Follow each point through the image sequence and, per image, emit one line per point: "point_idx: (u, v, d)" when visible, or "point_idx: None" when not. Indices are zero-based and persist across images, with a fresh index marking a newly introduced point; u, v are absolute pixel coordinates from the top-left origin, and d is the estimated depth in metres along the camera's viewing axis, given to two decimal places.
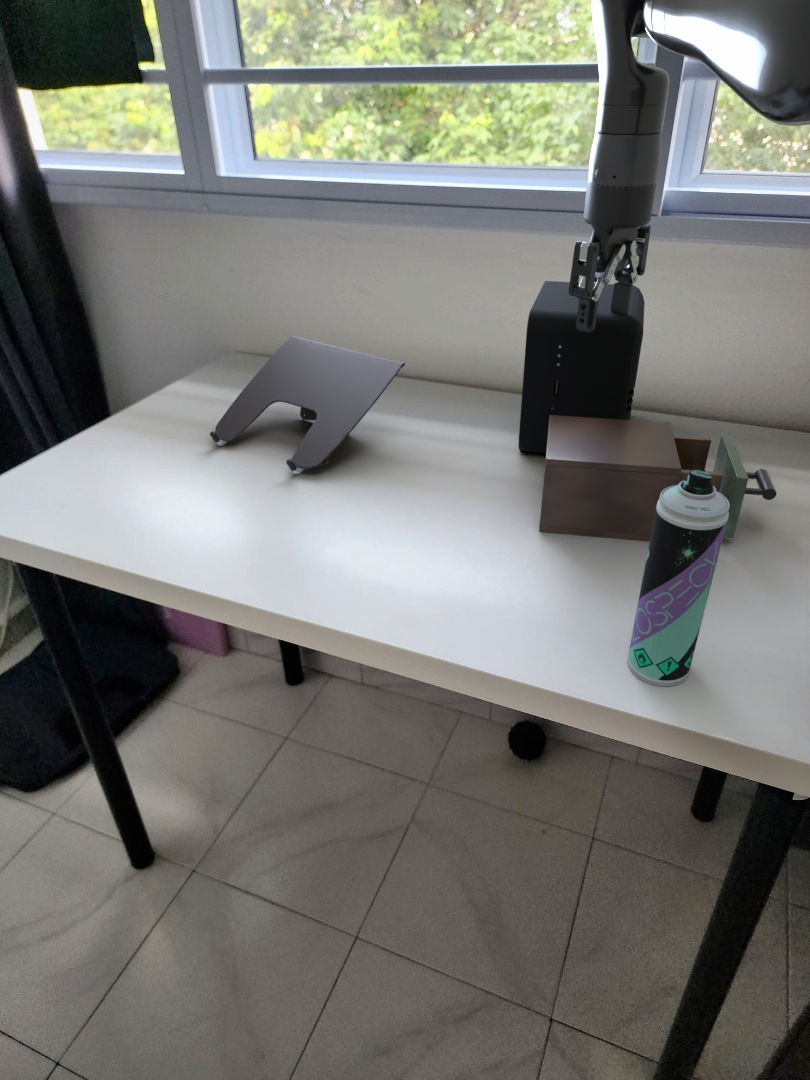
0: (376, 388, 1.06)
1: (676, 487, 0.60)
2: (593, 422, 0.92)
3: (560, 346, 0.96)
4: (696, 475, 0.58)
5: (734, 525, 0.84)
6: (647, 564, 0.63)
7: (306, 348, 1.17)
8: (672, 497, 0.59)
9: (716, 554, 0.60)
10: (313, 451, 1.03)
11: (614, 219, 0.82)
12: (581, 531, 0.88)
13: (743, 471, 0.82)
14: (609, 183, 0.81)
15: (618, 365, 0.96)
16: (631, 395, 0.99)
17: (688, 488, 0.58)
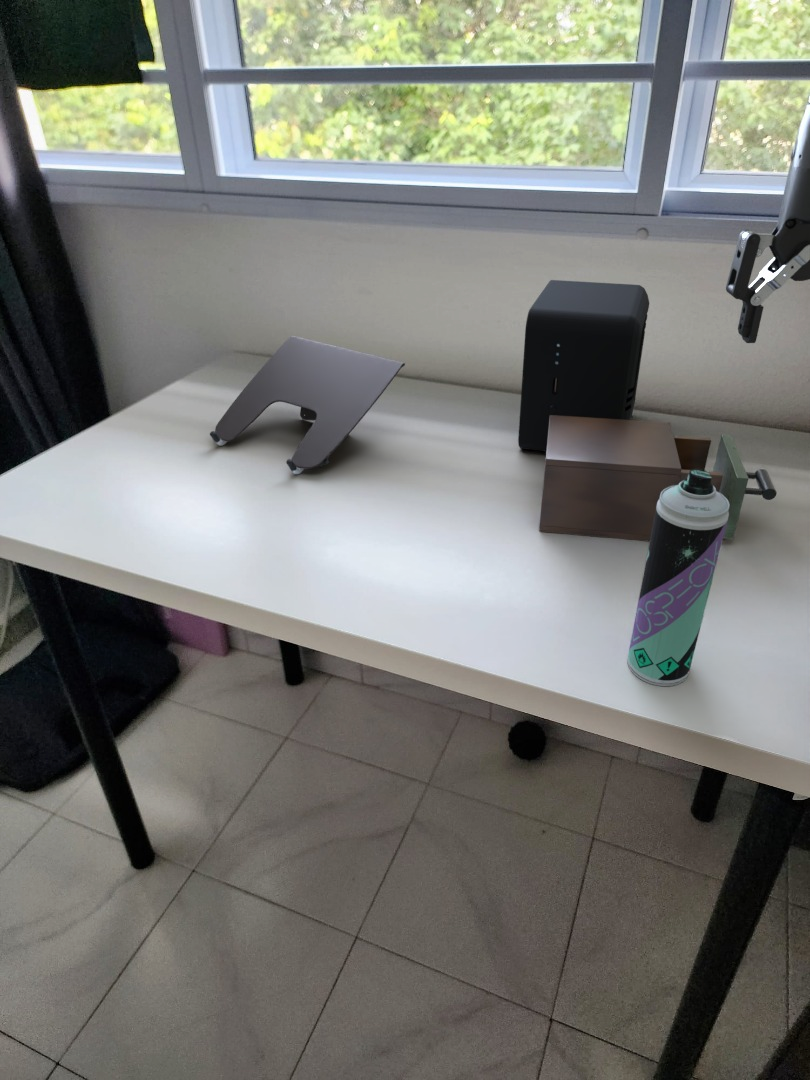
0: (376, 388, 1.06)
1: (676, 487, 0.60)
2: (593, 422, 0.92)
3: (558, 345, 0.97)
4: (696, 475, 0.58)
5: (734, 525, 0.84)
6: (647, 564, 0.63)
7: (306, 348, 1.17)
8: (672, 497, 0.59)
9: (716, 554, 0.60)
10: (313, 451, 1.03)
11: (792, 209, 0.68)
12: (581, 531, 0.88)
13: (743, 471, 0.82)
14: (795, 164, 0.67)
15: (616, 364, 0.96)
16: (630, 394, 0.99)
17: (688, 488, 0.58)
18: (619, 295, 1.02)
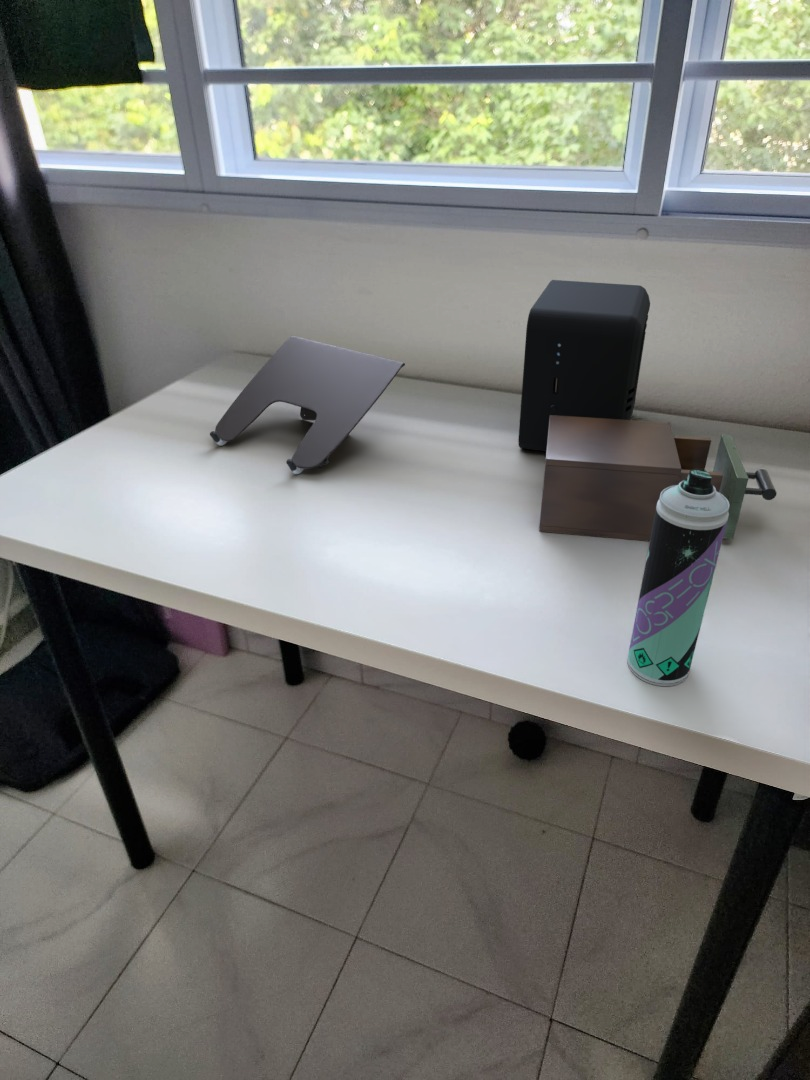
0: (376, 388, 1.06)
1: (676, 487, 0.60)
2: (593, 422, 0.92)
3: (559, 345, 0.97)
4: (696, 475, 0.58)
5: (734, 525, 0.84)
6: (647, 564, 0.63)
7: (306, 348, 1.17)
8: (672, 497, 0.59)
9: (716, 554, 0.60)
10: (313, 451, 1.03)
11: None
12: (581, 531, 0.88)
13: (743, 471, 0.82)
14: None
15: (617, 365, 0.96)
16: (630, 395, 0.99)
17: (688, 488, 0.58)
18: (620, 295, 1.02)
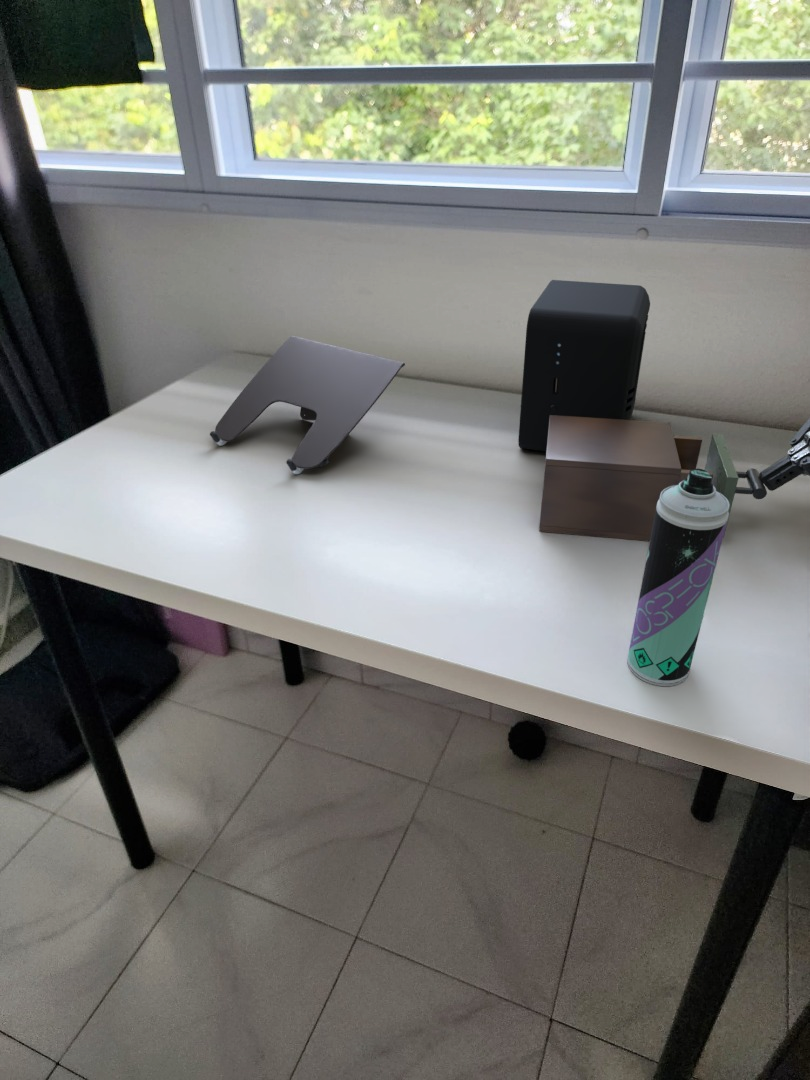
0: (376, 388, 1.06)
1: (676, 487, 0.60)
2: (593, 422, 0.92)
3: (559, 345, 0.97)
4: (696, 475, 0.58)
5: None
6: (647, 564, 0.63)
7: (306, 348, 1.17)
8: (672, 497, 0.59)
9: (716, 554, 0.60)
10: (313, 451, 1.03)
11: None
12: (581, 531, 0.88)
13: (733, 470, 0.83)
14: None
15: (617, 365, 0.96)
16: (630, 395, 0.99)
17: (688, 488, 0.58)
18: (620, 295, 1.02)
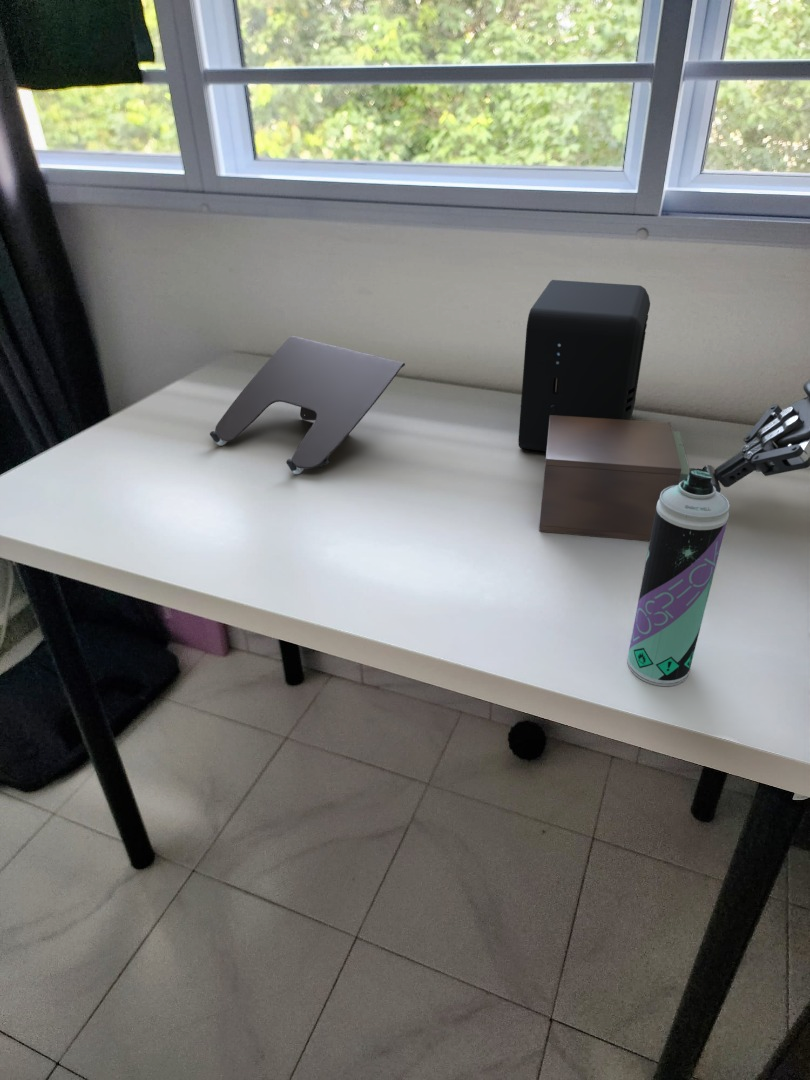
0: (376, 388, 1.06)
1: (676, 487, 0.60)
2: (593, 422, 0.92)
3: (559, 345, 0.97)
4: (696, 475, 0.58)
5: None
6: (647, 564, 0.63)
7: (306, 348, 1.17)
8: (672, 497, 0.59)
9: (716, 554, 0.60)
10: (313, 451, 1.03)
11: None
12: (581, 531, 0.88)
13: (686, 467, 0.84)
14: None
15: (617, 365, 0.96)
16: (630, 395, 0.99)
17: (688, 488, 0.58)
18: (620, 295, 1.02)
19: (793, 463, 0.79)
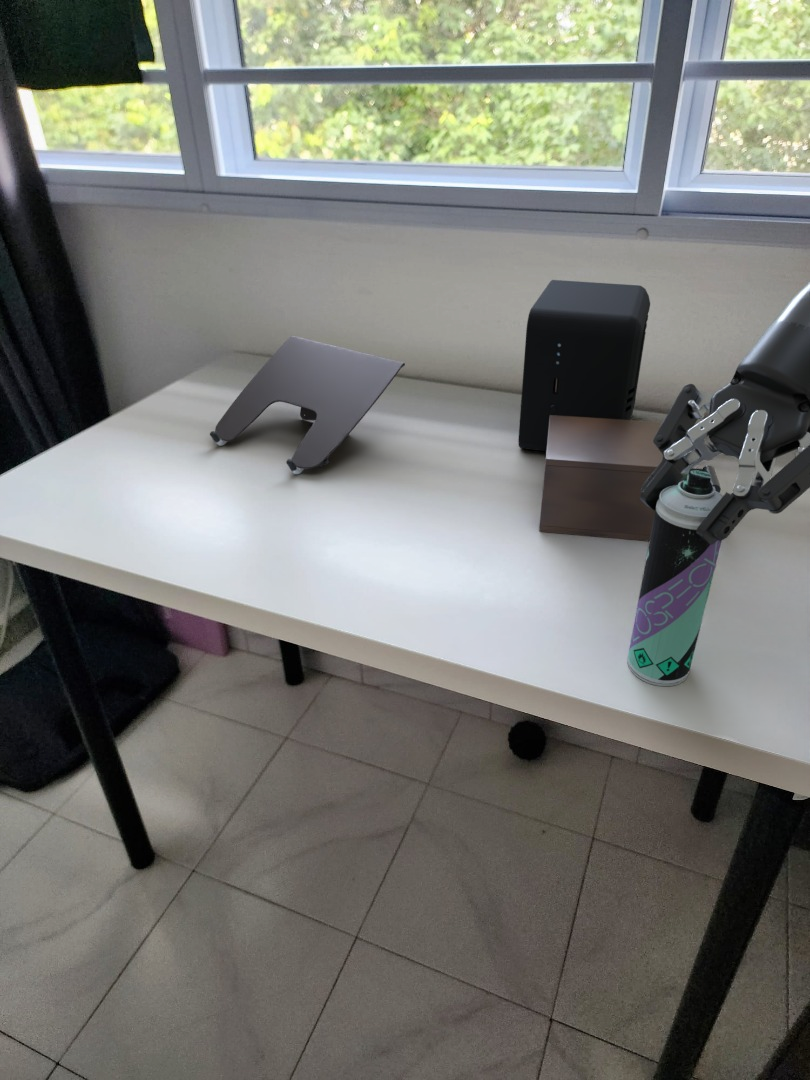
0: (376, 388, 1.06)
1: (675, 487, 0.60)
2: (593, 422, 0.92)
3: (559, 345, 0.97)
4: (695, 475, 0.58)
5: None
6: (647, 564, 0.63)
7: (306, 348, 1.17)
8: (671, 497, 0.59)
9: (716, 554, 0.60)
10: (313, 451, 1.03)
11: None
12: (581, 531, 0.88)
13: None
14: None
15: (617, 365, 0.96)
16: (630, 395, 0.99)
17: (688, 488, 0.58)
18: (620, 295, 1.02)
19: None
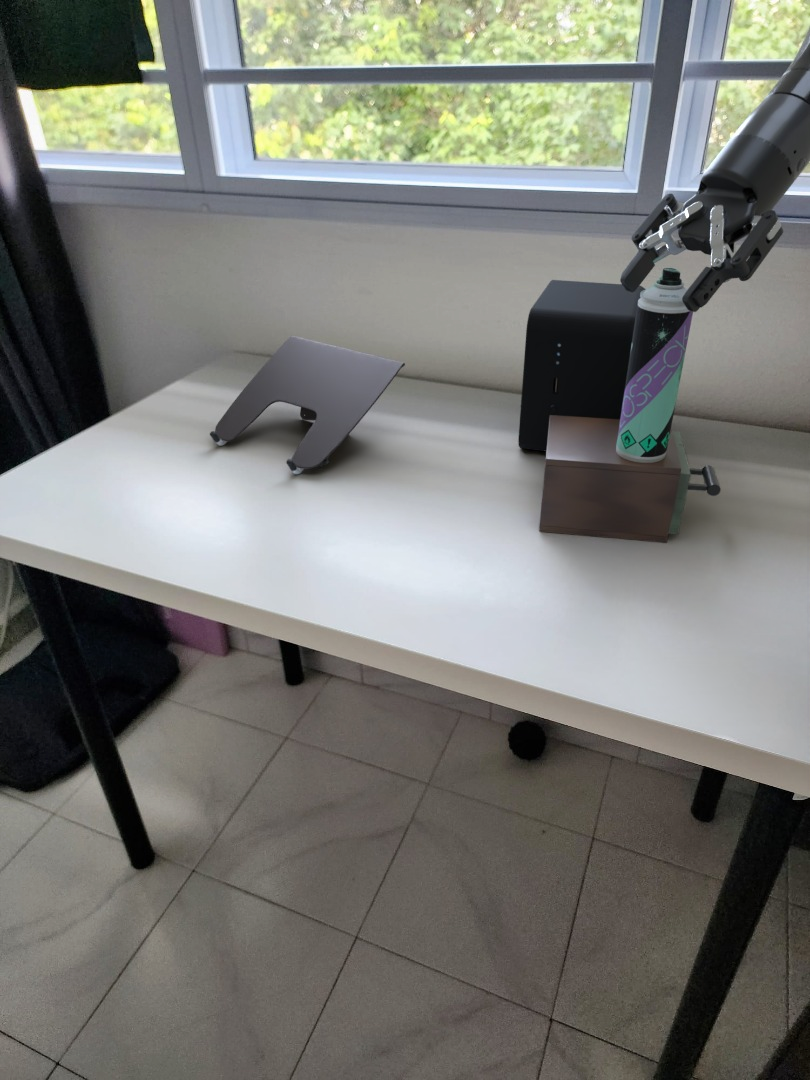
0: (376, 388, 1.06)
1: (653, 285, 0.76)
2: (593, 422, 0.92)
3: (559, 345, 0.97)
4: (668, 270, 0.74)
5: (678, 520, 0.85)
6: (631, 354, 0.79)
7: (306, 348, 1.17)
8: (649, 291, 0.75)
9: (685, 338, 0.76)
10: (313, 451, 1.03)
11: None
12: (581, 531, 0.88)
13: (686, 467, 0.84)
14: None
15: (617, 365, 0.96)
16: None
17: (662, 282, 0.74)
18: (620, 295, 1.02)
19: (774, 234, 0.69)
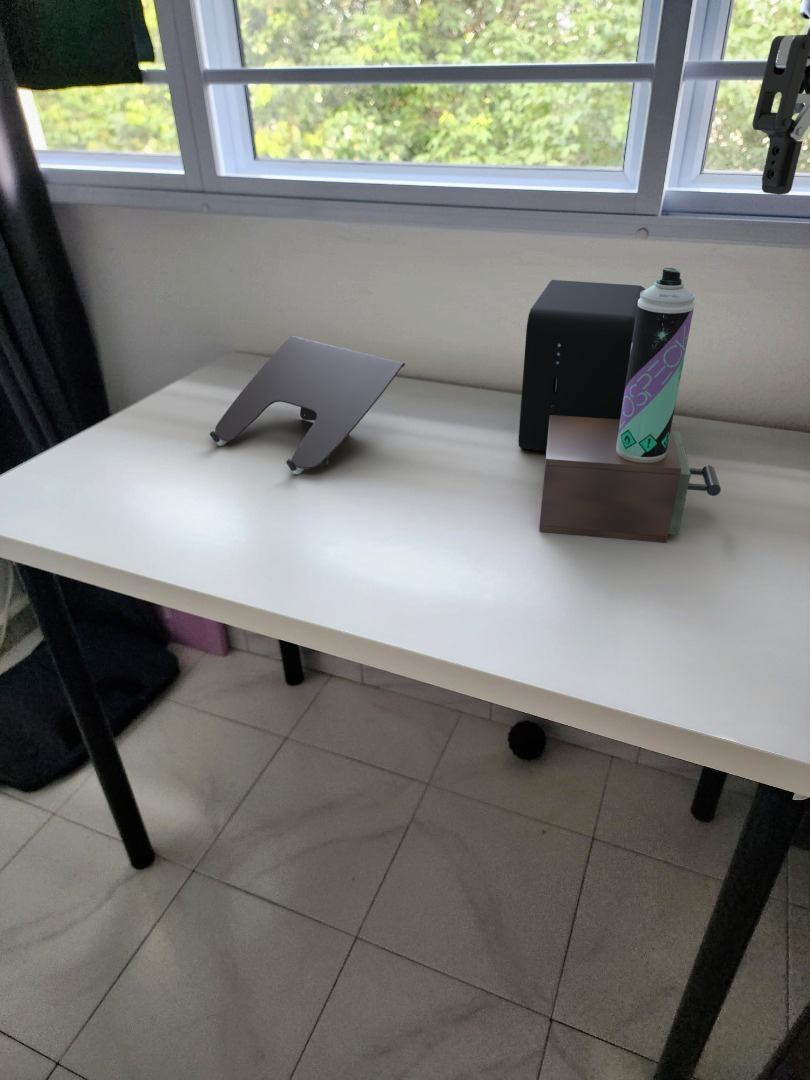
0: (376, 388, 1.06)
1: (653, 285, 0.76)
2: (593, 422, 0.92)
3: (559, 345, 0.97)
4: (667, 270, 0.74)
5: (678, 520, 0.85)
6: (631, 354, 0.79)
7: (306, 348, 1.17)
8: (649, 291, 0.75)
9: (684, 338, 0.76)
10: (313, 451, 1.03)
11: None
12: (581, 531, 0.88)
13: (686, 467, 0.84)
14: None
15: (617, 365, 0.96)
16: None
17: (662, 282, 0.74)
18: (620, 295, 1.02)
19: None
